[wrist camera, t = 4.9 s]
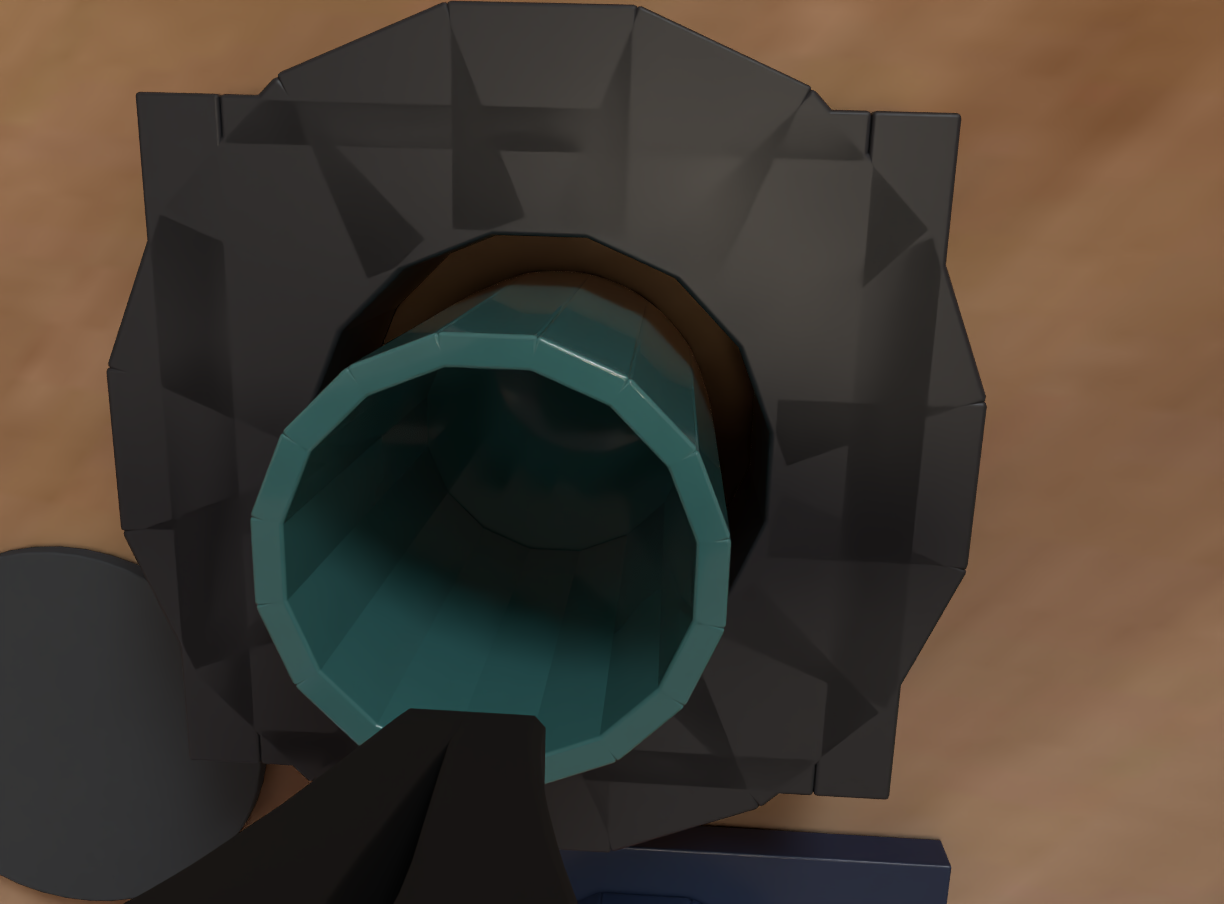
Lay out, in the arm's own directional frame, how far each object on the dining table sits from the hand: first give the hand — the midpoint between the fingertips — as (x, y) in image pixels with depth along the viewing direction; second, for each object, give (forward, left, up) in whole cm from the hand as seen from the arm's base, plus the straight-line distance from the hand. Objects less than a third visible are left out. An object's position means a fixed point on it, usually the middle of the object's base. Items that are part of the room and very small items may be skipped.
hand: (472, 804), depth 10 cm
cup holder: (0, +1, -11) cm, 11 cm away
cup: (0, +1, -11) cm, 11 cm away
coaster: (-10, -6, -11) cm, 16 cm away
